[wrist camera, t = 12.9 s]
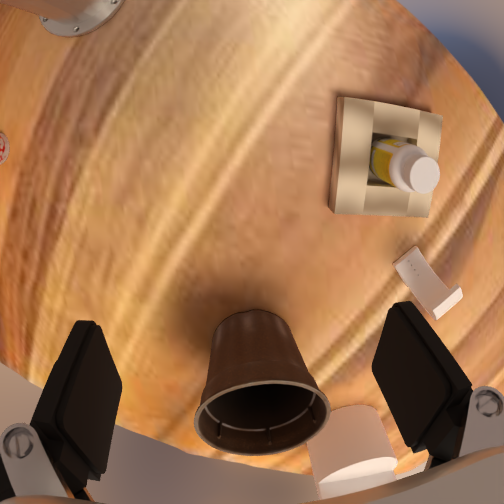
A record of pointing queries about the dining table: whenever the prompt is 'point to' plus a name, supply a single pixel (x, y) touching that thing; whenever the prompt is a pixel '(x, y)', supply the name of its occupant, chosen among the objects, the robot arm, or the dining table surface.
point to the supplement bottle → (403, 165)
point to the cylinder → (351, 453)
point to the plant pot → (258, 389)
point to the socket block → (358, 156)
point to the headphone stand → (426, 284)
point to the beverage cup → (4, 148)
